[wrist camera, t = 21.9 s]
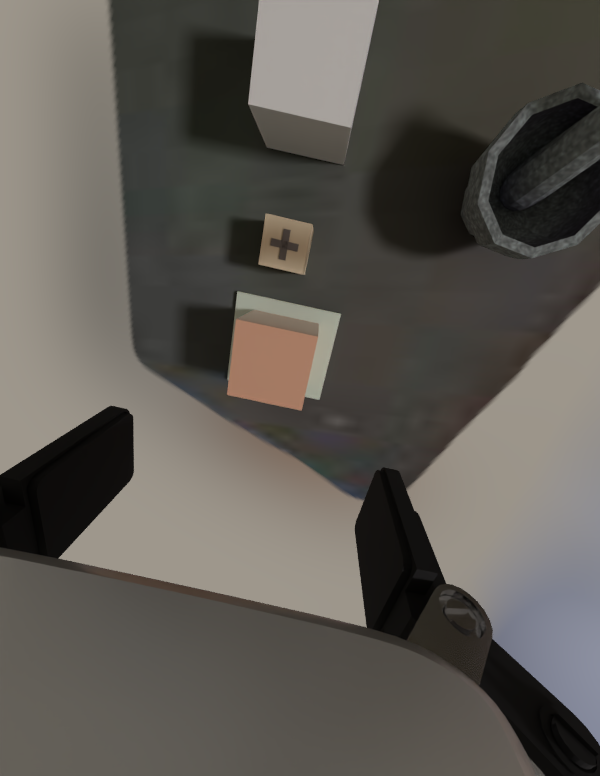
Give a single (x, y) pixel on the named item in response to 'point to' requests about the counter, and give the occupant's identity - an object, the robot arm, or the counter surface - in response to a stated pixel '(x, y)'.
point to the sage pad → (324, 318)
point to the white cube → (309, 73)
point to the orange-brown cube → (272, 358)
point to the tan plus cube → (285, 244)
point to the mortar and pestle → (539, 177)
